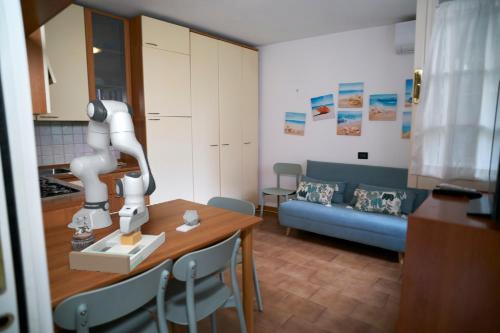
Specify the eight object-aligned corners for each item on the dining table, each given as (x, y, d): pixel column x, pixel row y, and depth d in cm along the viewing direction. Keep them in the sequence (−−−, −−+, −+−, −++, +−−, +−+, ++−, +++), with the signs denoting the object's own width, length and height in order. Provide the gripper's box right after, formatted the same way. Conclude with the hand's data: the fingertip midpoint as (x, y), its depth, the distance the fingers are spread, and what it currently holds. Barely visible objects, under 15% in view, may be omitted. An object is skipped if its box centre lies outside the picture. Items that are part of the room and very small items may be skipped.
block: (120, 244, 141) (120, 236, 140) (129, 238, 148) (129, 230, 148) (133, 245, 140) (133, 236, 139) (141, 239, 147) (141, 231, 147)
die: (191, 229, 171) (201, 213, 173) (177, 220, 172) (188, 205, 174) (193, 230, 179) (203, 214, 181) (180, 221, 180) (190, 206, 182)
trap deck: (70, 269, 123) (68, 253, 122) (119, 237, 156) (118, 225, 155) (127, 274, 119) (126, 257, 118) (165, 241, 152) (164, 228, 151)
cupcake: (69, 248, 142) (67, 227, 141) (91, 243, 149) (90, 222, 148) (75, 255, 136) (74, 232, 134) (99, 248, 142) (97, 227, 141)
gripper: (139, 201, 157) (140, 228, 159) (116, 213, 137) (118, 243, 139) (151, 202, 156) (152, 229, 158) (130, 214, 136) (131, 244, 138)
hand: (136, 236), depth 148 cm, fingers closed
